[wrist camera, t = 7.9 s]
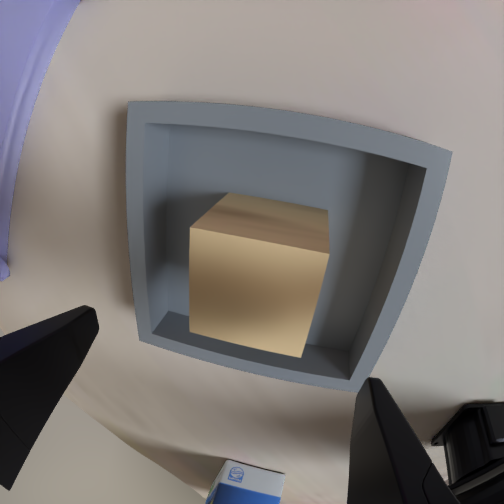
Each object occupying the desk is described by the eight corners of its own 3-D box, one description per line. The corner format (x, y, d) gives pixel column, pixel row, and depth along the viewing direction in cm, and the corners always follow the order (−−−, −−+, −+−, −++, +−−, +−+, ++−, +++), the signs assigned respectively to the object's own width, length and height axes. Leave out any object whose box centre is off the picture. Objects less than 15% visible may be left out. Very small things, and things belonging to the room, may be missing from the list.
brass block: (308, 295, 17) (300, 357, 12) (222, 277, 18) (189, 331, 13) (328, 210, 15) (329, 254, 10) (229, 192, 15) (190, 227, 11)
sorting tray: (358, 358, 19) (359, 392, 16) (159, 313, 21) (139, 340, 18) (429, 143, 12) (452, 151, 10) (159, 101, 14) (128, 101, 12)
